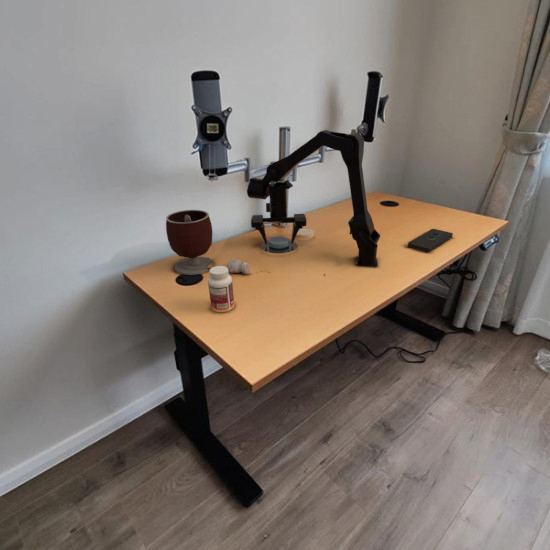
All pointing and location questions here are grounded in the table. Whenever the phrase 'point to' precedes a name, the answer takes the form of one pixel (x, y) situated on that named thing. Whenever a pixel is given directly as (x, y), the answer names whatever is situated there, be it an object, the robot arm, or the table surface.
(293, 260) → the table surface
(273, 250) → the charcoal plate
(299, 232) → the cream saucer
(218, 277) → the pill bottle
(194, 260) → the mate gourd
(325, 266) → the table surface
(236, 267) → the pale two-lobed sculpture
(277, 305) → the table surface
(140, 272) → the table surface
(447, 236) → the smart home device
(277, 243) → the blue saucer
